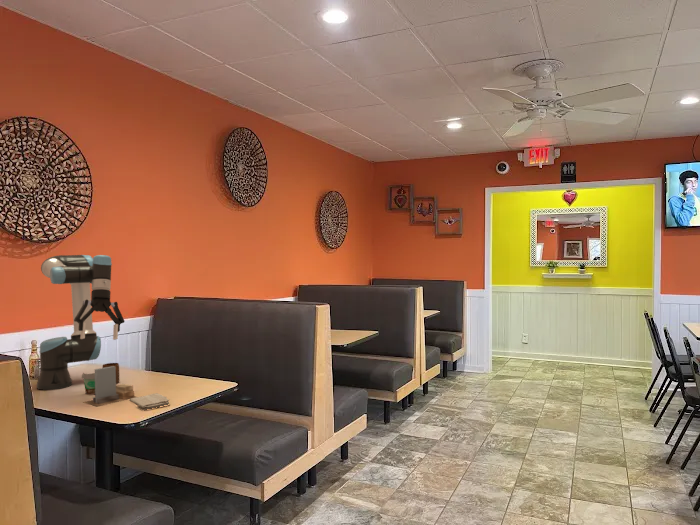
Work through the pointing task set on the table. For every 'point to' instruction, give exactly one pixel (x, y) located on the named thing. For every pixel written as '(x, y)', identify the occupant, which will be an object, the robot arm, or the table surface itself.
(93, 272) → the robot arm
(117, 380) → the mug
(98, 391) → the tall panel
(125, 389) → the offcut stack
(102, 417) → the table surface
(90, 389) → the food container
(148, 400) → the washcloth
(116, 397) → the brown rectangular board
